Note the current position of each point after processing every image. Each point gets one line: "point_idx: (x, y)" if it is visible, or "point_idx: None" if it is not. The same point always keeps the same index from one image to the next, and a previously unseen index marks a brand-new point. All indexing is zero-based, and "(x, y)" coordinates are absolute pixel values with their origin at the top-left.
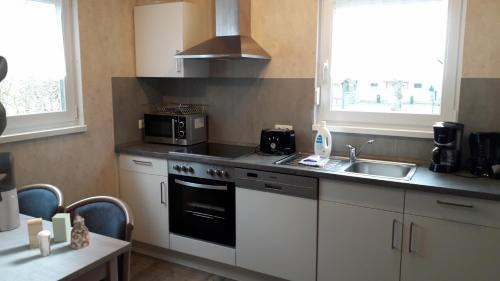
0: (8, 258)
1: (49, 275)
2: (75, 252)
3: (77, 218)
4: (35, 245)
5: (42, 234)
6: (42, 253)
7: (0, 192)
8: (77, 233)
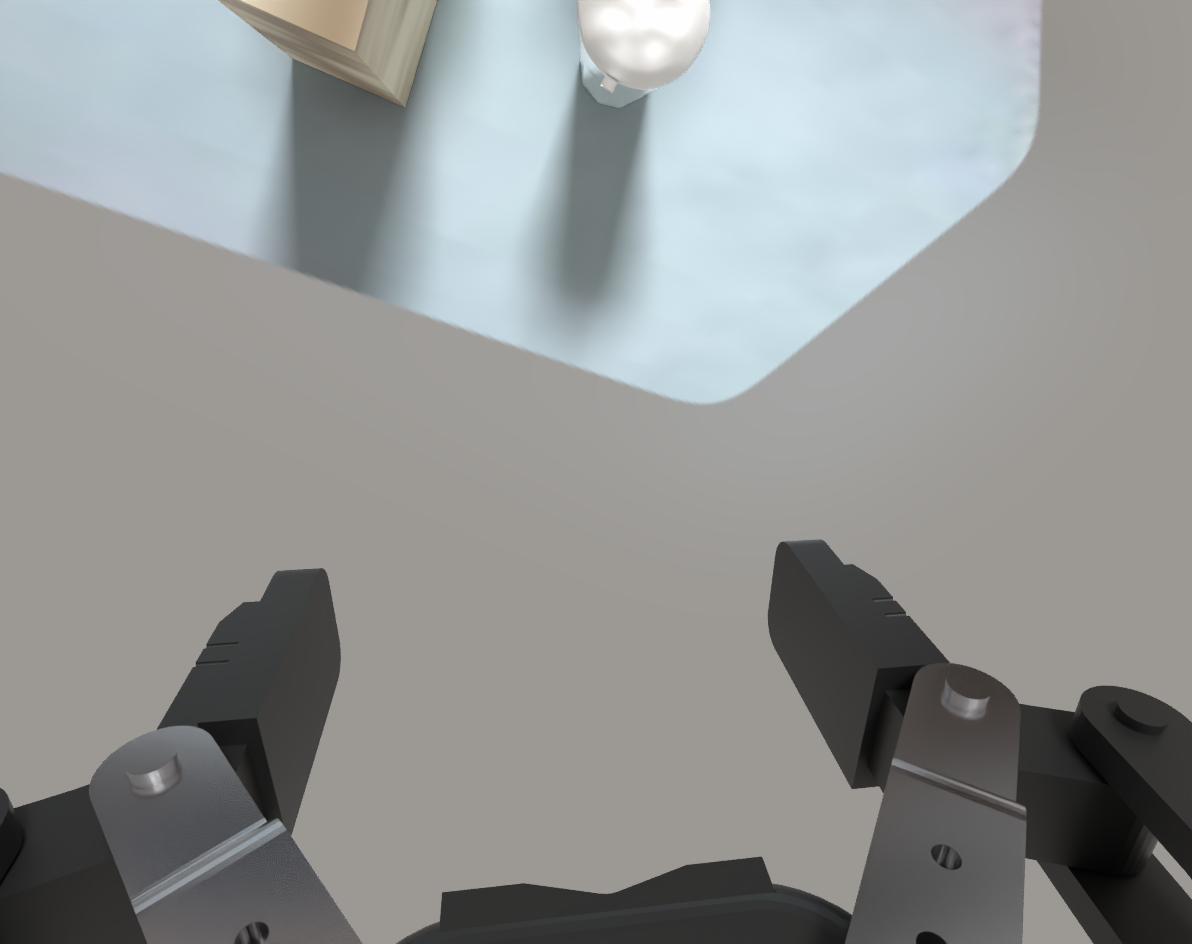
0: (463, 300)
1: (945, 214)
2: None
3: None
4: (414, 56)
5: (689, 43)
6: (637, 98)
7: (908, 644)
8: None
